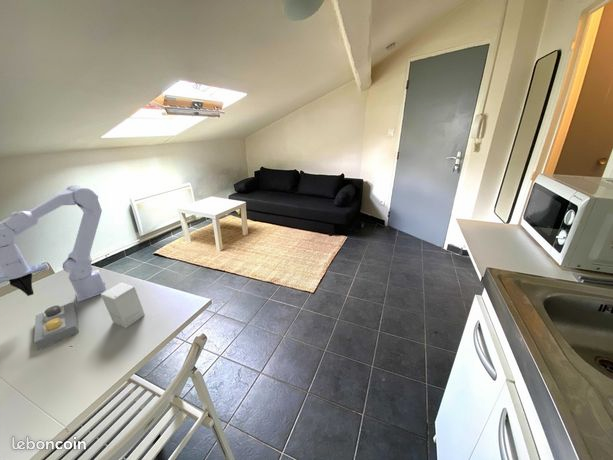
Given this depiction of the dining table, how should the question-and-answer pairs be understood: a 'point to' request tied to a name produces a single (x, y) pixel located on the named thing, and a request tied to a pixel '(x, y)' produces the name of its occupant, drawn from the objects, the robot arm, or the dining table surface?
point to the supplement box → (123, 304)
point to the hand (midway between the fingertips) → (30, 293)
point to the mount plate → (52, 336)
